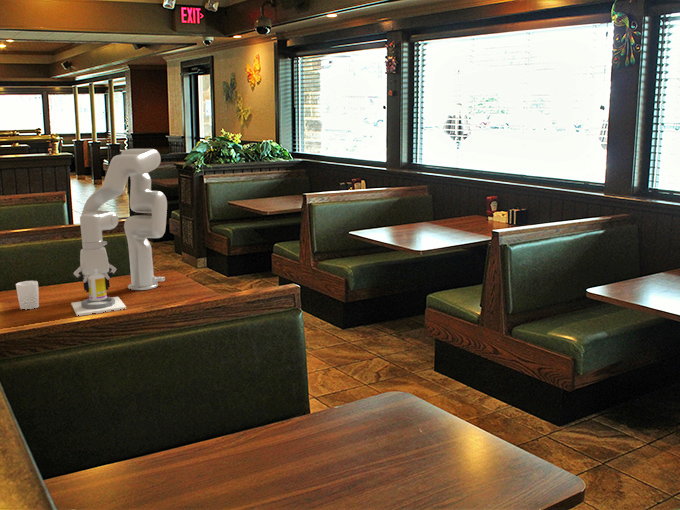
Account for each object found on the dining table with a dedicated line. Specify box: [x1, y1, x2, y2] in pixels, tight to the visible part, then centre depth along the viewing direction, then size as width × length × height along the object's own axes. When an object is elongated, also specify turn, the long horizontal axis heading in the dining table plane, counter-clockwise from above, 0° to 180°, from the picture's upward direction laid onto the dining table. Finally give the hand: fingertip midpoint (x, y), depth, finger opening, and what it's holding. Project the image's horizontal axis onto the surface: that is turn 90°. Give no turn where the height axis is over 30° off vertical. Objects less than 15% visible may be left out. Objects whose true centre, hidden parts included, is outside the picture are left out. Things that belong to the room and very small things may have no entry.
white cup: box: [15, 280, 40, 311], centre depth 261 cm, size 8×8×10 cm
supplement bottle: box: [87, 269, 108, 301], centre depth 259 cm, size 7×7×13 cm
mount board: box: [71, 296, 127, 317], centre depth 261 cm, size 18×18×2 cm
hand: (97, 290), depth 260 cm, fingers closed on supplement bottle, 6 cm apart
